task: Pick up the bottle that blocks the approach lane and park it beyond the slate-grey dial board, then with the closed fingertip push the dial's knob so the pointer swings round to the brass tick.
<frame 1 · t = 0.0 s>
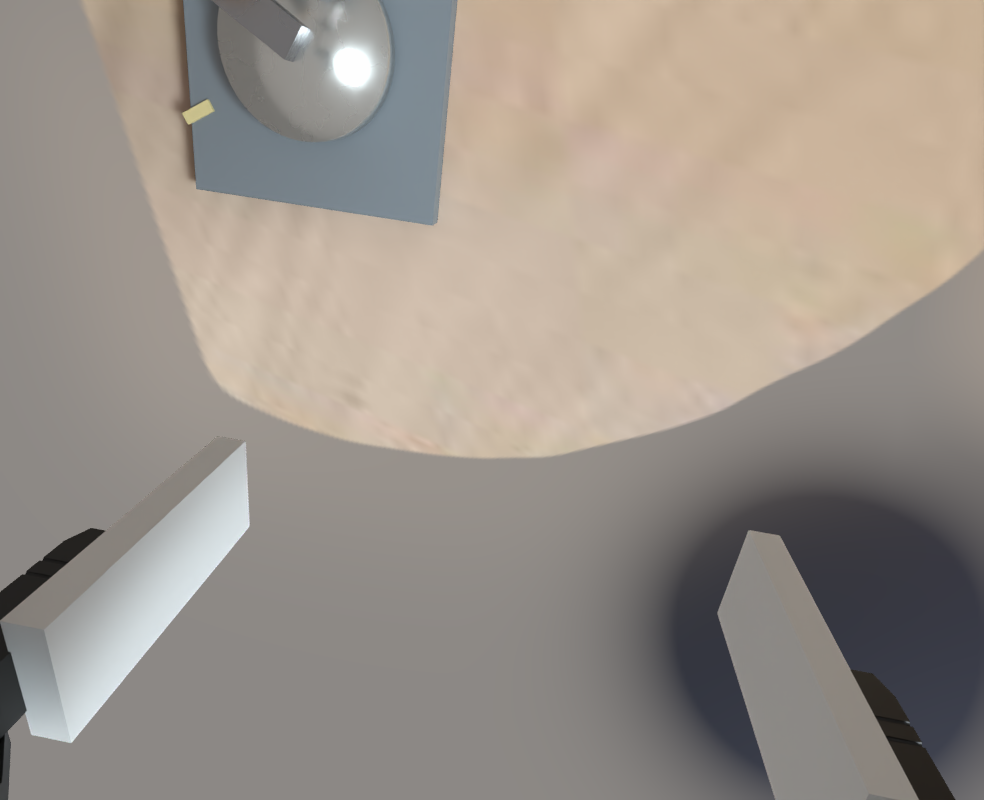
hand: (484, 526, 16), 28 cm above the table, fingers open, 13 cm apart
board: (323, 53, 37), on the table
dial: (267, 37, 32), point 6 cm above the table, hinge at 0.0°
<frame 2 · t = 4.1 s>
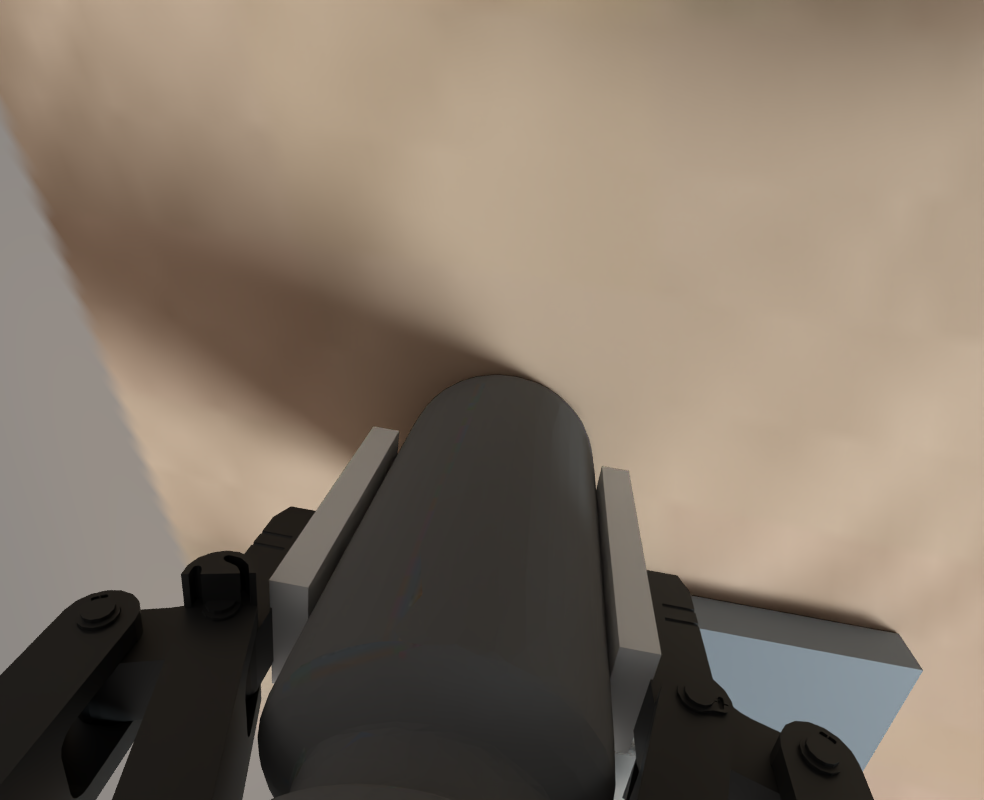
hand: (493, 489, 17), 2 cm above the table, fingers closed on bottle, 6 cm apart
board: (603, 762, 24), on the table
bottle: (501, 454, 19), on the table, touching gripper
when the fingers open (3 cm above the table, at t = 10.2 s): bottle drops 1 cm, on the table.
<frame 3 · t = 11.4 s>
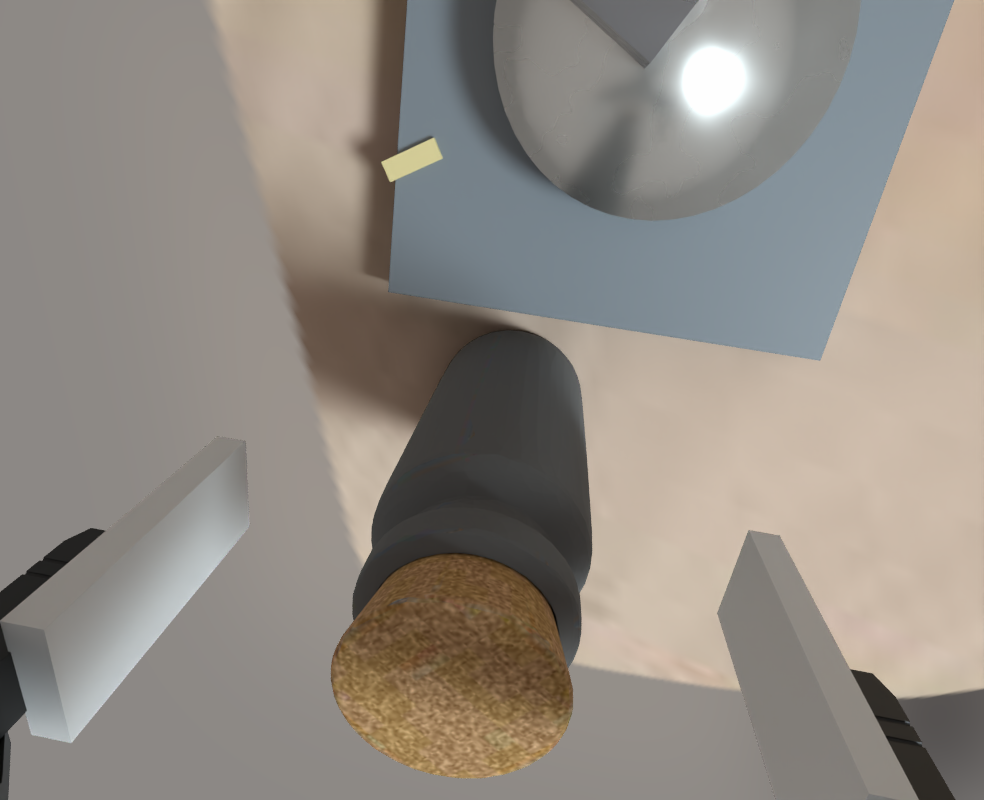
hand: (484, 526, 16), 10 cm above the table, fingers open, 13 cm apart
board: (653, 53, 20), on the table
dial: (648, 14, 15), point 6 cm above the table, hinge at 0.0°
bottle: (511, 393, 25), on the table
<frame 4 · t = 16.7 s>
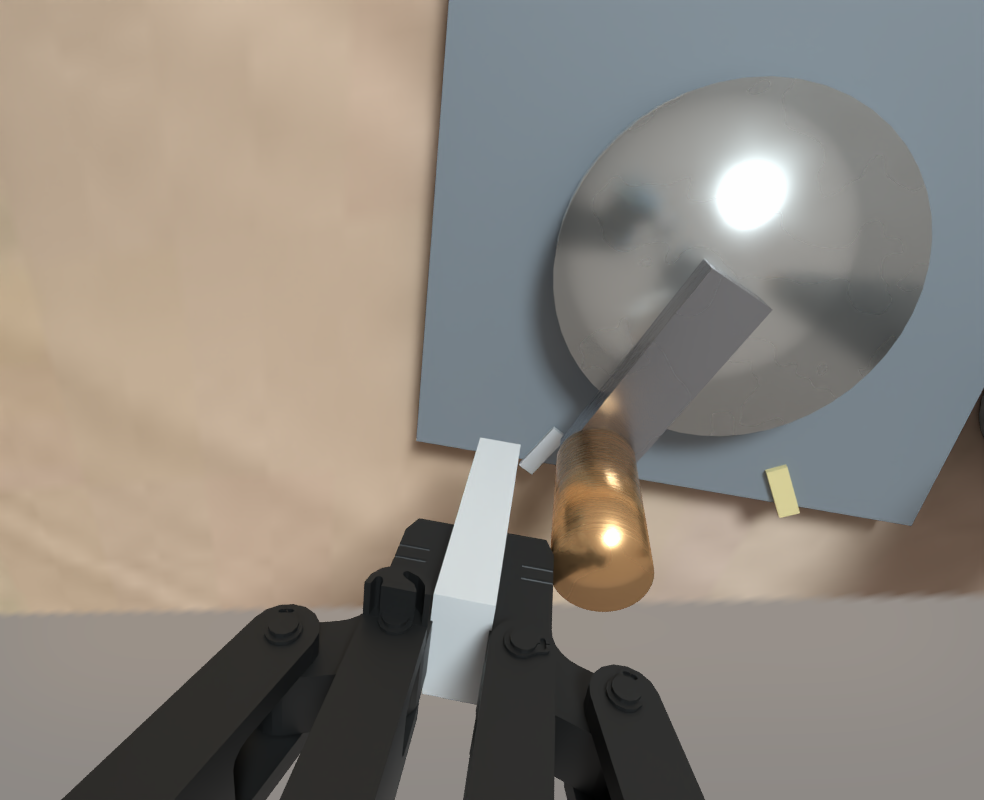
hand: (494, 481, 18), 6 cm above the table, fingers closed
board: (709, 255, 20), on the table
dial: (746, 336, 15), point 6 cm above the table, hinge at 5.3°, touching gripper
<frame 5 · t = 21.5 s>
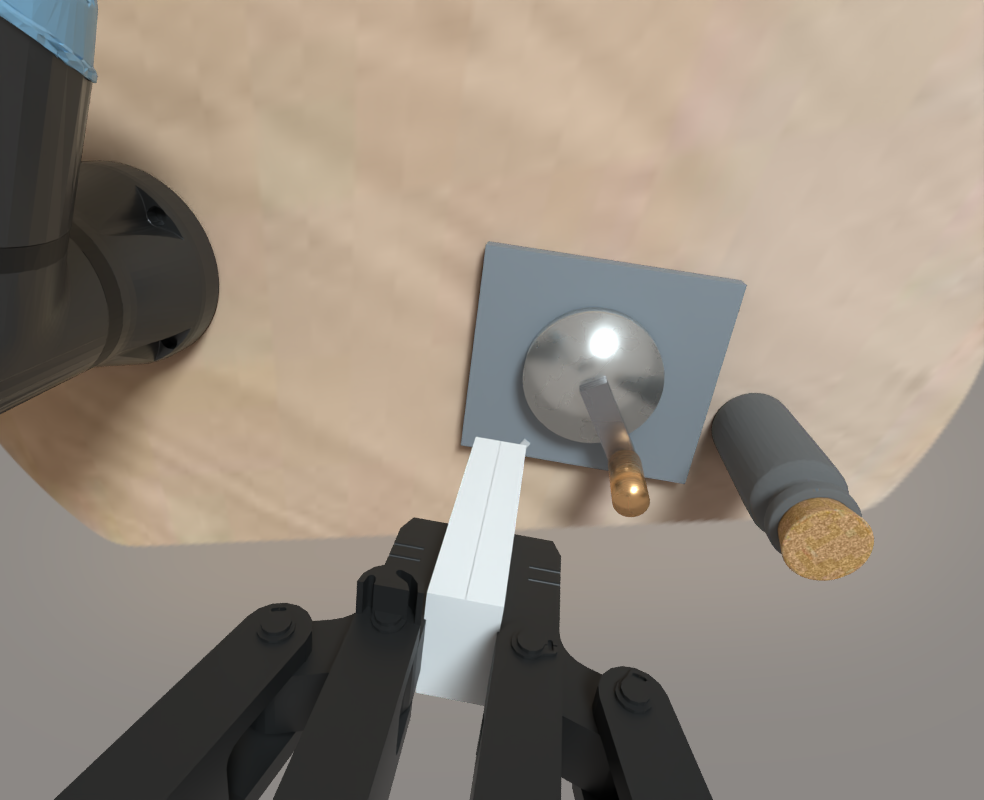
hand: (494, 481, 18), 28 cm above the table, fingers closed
board: (591, 365, 46), on the table
dial: (604, 401, 41), point 6 cm above the table, hinge at 61.8°
bottle: (749, 425, 46), on the table
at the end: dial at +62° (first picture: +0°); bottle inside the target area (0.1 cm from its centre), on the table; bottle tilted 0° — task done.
